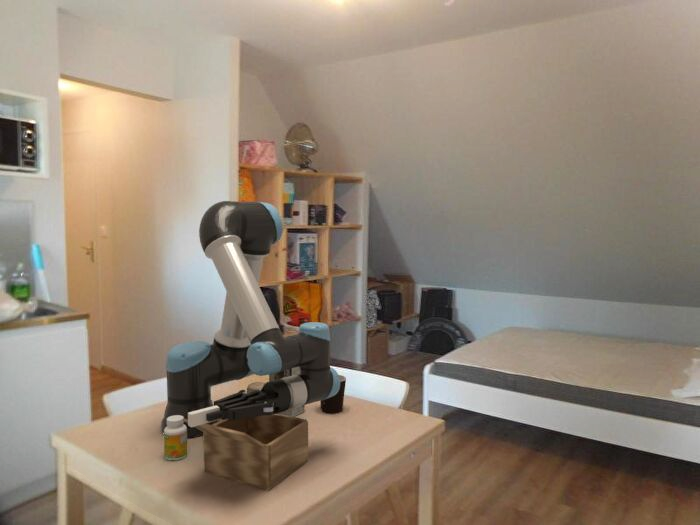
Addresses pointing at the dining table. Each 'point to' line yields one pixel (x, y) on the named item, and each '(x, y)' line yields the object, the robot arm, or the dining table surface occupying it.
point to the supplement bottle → (175, 438)
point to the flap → (227, 433)
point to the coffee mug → (335, 399)
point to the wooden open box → (258, 450)
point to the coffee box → (281, 375)
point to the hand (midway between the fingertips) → (189, 420)
